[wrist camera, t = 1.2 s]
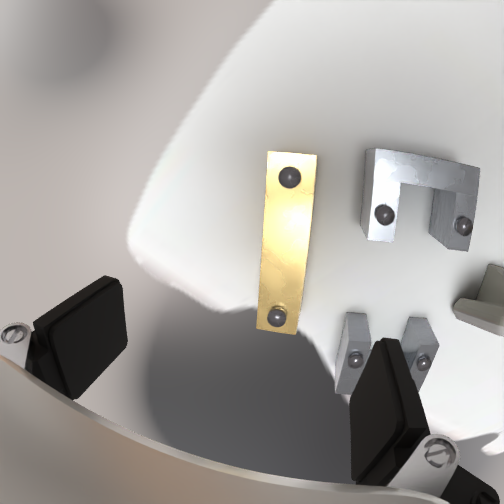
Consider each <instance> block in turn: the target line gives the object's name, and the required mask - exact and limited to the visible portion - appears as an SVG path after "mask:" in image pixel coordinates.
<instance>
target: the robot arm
mask: <svg viewBox="0 0 504 504" xmlns="http://www.w3.org/2000/svg"><path fill="white" fill-rule="evenodd" d="M33 325H34V329H35V330H34V331H33V332H32V331H31V329H30V327H29V326H28V325H27V324H24V323H12V324H9V325H7V326H5V327H3V328H2V329H1V330H0V504H500V500H499V496H498V494H497V492H496V491H495V490H494V489H493V488H492V487H491V486H489V485H488V484H486V483H485V482H483V481H482V480H480V479H479V478H477V477H475V476H474V475H472V474H471V473H469V472H468V471H466V470H465V469H464V468H462V467H460V466H459V465H458V463H459V460H460V451H459V449H458V446H457V445H456V443H455V442H454V441H453V440H452V439H450V438H449V437H447V436H445V435H441V434H430V431H429V427H428V423H427V420H426V416H425V413H424V409H423V406H422V403H421V399H420V396H419V393H418V390H417V387H416V384H415V381H414V379H412V376H411V373H410V370H409V367H408V364H407V361H406V358H405V356H404V353H403V350H402V347H401V345H400V342H399V340H397V339H391V338H384V337H383V338H382V339H381V340H380V341H376V342H375V344H374V346H373V349H372V351H371V353H370V356H369V358H368V360H367V363H366V365H365V367H364V369H363V372H362V374H361V376H360V378H359V380H358V382H357V385H356V387H355V389H354V391H353V393H352V395H351V398H350V403H349V407H350V425H351V478H352V480H353V481H356V485H354V484H339V483H327V482H317V481H308V480H302V479H295V478H288V477H282V476H276V475H270V474H265V473H260V472H255V471H250V470H246V469H242V468H238V467H234V466H230V465H226V464H222V463H219V462H215V461H212V460H208V459H205V458H202V457H198V456H195V455H192V454H189V453H186V452H183V451H180V450H177V449H174V448H172V447H169V446H167V445H164V444H161V443H159V442H156V441H154V440H151V439H149V438H146V437H144V436H142V435H139V434H137V433H135V432H133V431H130V430H128V429H126V428H124V427H122V426H120V425H118V424H116V423H114V422H111V421H109V420H107V419H105V418H104V417H101V416H100V415H98V414H96V413H94V412H92V411H90V410H88V409H86V408H85V407H83V406H81V405H79V404H78V403H76V402H74V401H73V400H74V399H78V398H79V397H80V396H81V395H82V394H83V393H84V392H85V391H86V389H87V388H88V387H89V386H90V385H91V384H92V383H93V382H94V381H95V380H96V379H97V378H98V377H99V376H100V375H101V374H102V372H103V371H104V370H105V369H106V368H107V367H108V366H109V365H110V364H111V363H112V362H113V361H114V360H115V359H116V358H117V356H118V355H119V354H120V353H121V352H122V351H123V350H124V349H125V348H126V346H127V342H128V339H127V331H126V322H125V312H124V301H123V288H122V285H121V284H120V282H119V280H118V279H116V278H112V277H109V276H103V277H101V278H99V279H98V280H96V281H94V282H93V283H92V284H90V285H88V286H87V287H85V288H83V289H82V290H80V291H79V292H77V293H76V294H74V295H73V296H71V297H69V298H68V299H66V300H65V301H63V302H62V303H60V304H59V305H57V306H56V307H54V308H53V309H51V310H50V311H48V312H47V313H46V314H44V315H42V316H41V317H39V318H38V319H37V320H35V321H34V322H33Z"/></svg>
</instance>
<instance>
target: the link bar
mask: <svg viewBox="0 0 504 504" xmlns="http://www.w3.org/2000/svg"><path fill="white" fill-rule="evenodd" d="M317 157H318V156H317V155H307V154H296V153H284V152H270V151H268V160H267V177H266V193H265V209H264V225H263V240H262V255H261V270H260V285H259V299H258V314H257V327H256V328H257V329H262V330H268V331H274V332H280V333H286V334H294V335H295V334H296V331H297V326H298V321H299V315H300V310H301V303H302V296H303V289H304V282H305V274H306V267H307V259H308V250H309V242H310V233H311V224H312V214H313V204H314V194H315V183H316V171H317Z"/></svg>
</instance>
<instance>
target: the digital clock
mask: <svg viewBox="0 0 504 504" xmlns="http://www.w3.org/2000/svg"><path fill="white" fill-rule="evenodd" d="M453 312H454V314H455V316H456V318H457V319H459V320H461V321H464V322H466V323H469V324H471V325H474V326H476V327H478V328H481V329H483V330H486V331H488V332H491V333H493V334H496V335H499V336H503V337H504V268H503V267H499V266H496V265H492V264H489V265H488V268H487V271H486V273H485V276H484V279H483V282H482V285H481V287H480V290H479V293H478V295H477V298H476V300H472V299H466V298H460V299H459V300H458V301H457V302H456V303H455V305H454V307H453Z"/></svg>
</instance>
